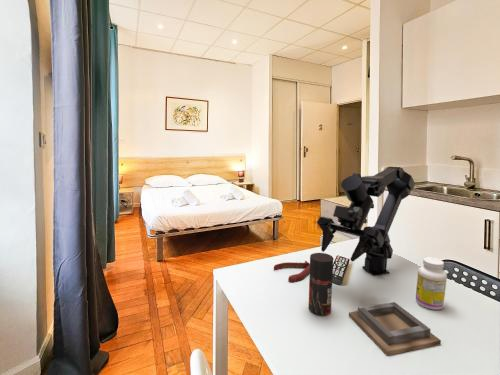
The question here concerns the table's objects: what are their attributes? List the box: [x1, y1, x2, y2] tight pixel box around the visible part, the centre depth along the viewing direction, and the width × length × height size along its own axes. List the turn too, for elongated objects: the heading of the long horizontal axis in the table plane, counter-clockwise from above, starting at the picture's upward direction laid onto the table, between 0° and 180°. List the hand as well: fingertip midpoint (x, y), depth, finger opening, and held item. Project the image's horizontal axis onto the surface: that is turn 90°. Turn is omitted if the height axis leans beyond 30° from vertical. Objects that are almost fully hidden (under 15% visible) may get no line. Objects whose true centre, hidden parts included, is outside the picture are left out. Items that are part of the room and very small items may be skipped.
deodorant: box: [308, 252, 334, 317], centre depth 73 cm, size 6×6×15 cm
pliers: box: [273, 260, 310, 283], centre depth 98 cm, size 12×20×3 cm, turn 116°
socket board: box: [348, 301, 442, 357], centre depth 66 cm, size 14×14×3 cm
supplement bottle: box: [415, 256, 448, 311], centre depth 76 cm, size 7×7×13 cm
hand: (336, 255), depth 77 cm, fingers open, 9 cm apart
